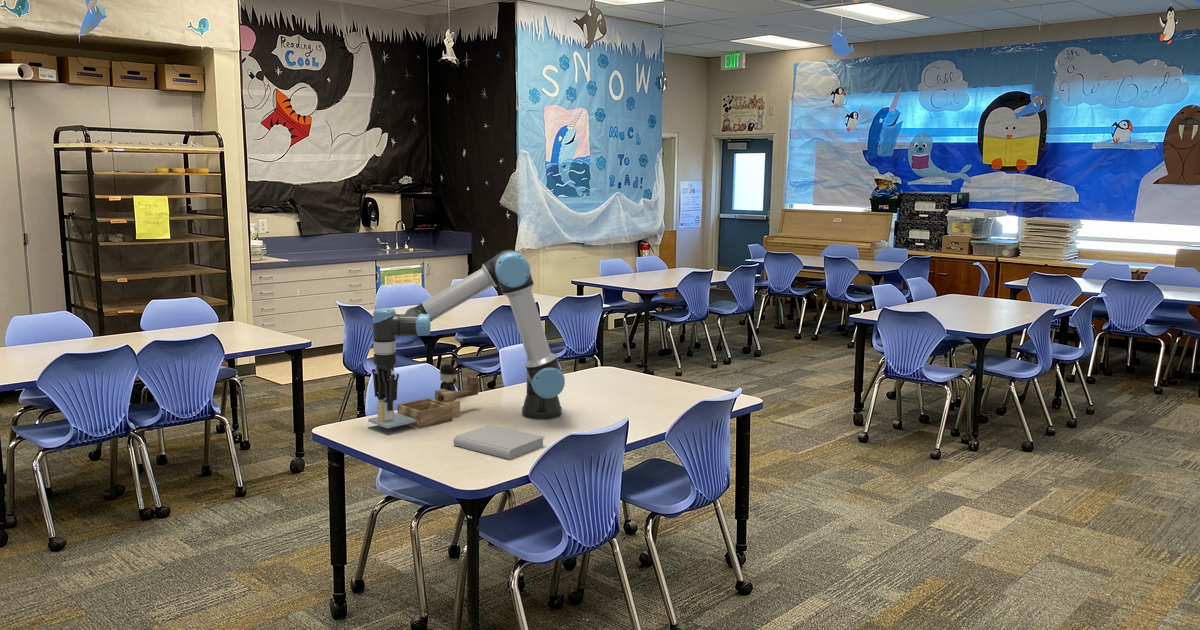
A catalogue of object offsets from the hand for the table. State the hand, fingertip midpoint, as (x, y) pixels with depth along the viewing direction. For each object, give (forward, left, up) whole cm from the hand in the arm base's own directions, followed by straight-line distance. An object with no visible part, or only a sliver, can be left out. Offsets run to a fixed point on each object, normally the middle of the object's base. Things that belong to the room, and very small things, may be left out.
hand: (386, 418), depth 301 cm
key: (0, -33, +2) cm, 33 cm away
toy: (+17, -42, -4) cm, 45 cm away
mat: (0, -3, -4) cm, 5 cm away
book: (-42, -16, -5) cm, 45 cm away
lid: (0, -3, -2) cm, 3 cm away
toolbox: (0, -20, -4) cm, 20 cm away
